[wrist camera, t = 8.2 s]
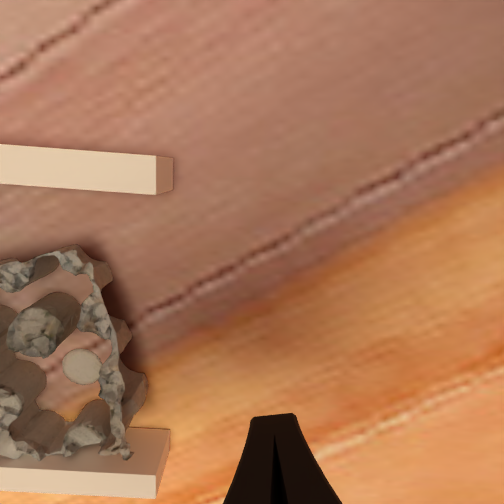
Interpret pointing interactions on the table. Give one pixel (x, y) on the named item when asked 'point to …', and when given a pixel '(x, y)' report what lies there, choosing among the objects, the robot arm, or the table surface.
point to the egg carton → (74, 363)
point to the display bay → (140, 439)
